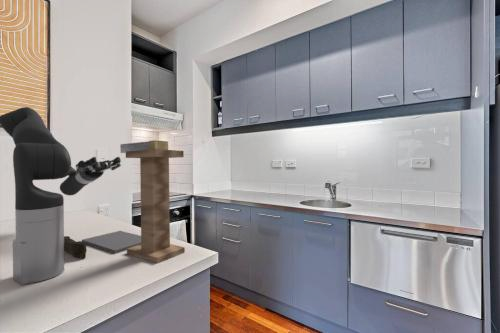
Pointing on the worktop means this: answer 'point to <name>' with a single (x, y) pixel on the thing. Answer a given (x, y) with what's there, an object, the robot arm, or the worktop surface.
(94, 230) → the worktop surface
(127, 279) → the worktop surface
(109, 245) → the rubber mat
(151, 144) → the grey rectangular bar
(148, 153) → the walnut stand
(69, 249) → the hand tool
